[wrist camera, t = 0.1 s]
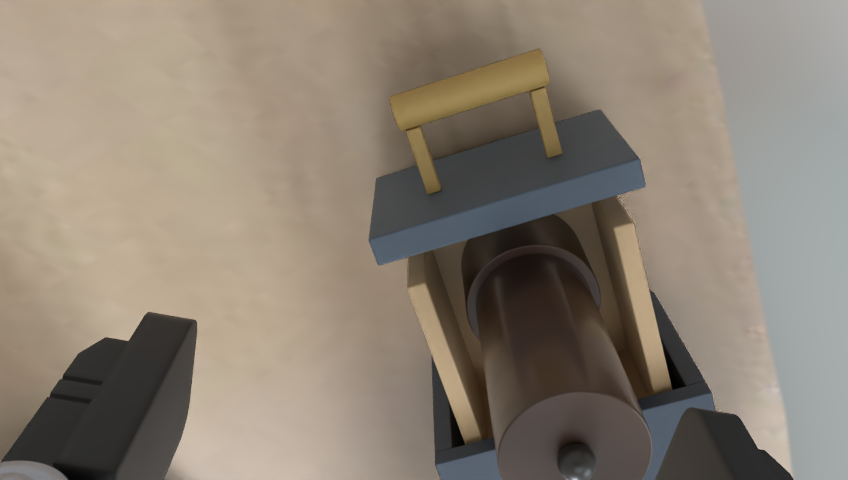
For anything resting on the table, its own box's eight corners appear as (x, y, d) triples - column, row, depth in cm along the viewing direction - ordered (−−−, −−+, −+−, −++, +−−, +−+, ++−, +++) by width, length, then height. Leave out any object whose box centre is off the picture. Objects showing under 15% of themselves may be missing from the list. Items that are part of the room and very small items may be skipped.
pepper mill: (475, 197, 36) (511, 384, 22) (597, 219, 36) (701, 414, 23) (449, 306, 38) (468, 533, 25) (564, 325, 38) (642, 558, 25)
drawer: (343, 90, 35) (328, 137, 28) (578, 14, 33) (615, 45, 27) (455, 395, 41) (463, 487, 35) (655, 341, 40) (699, 426, 34)
